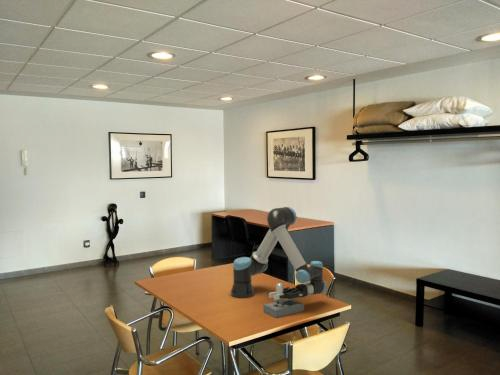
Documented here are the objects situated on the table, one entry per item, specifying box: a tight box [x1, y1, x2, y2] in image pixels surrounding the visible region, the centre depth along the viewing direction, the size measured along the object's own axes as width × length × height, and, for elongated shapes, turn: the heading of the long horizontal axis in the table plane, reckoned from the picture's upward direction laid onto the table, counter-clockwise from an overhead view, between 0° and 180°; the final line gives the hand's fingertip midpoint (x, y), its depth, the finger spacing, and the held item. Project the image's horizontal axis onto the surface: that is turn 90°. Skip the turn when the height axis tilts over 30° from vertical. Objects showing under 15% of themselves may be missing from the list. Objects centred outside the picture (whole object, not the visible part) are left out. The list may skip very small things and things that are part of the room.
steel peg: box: [275, 282, 284, 307], centre depth 226 cm, size 5×5×16 cm
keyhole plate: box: [262, 298, 305, 319], centre depth 228 cm, size 20×12×4 cm, turn 122°
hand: (271, 296), depth 223 cm, fingers closed on steel peg, 4 cm apart
